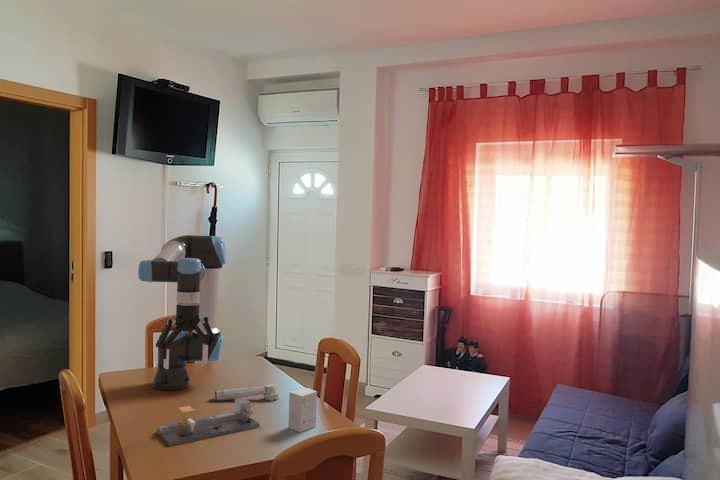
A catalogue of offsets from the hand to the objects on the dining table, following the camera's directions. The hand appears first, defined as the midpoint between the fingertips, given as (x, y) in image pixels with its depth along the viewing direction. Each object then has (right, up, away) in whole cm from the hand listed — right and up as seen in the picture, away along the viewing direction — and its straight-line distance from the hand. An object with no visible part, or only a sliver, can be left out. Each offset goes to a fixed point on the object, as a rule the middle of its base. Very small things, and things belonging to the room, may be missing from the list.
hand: (185, 365), depth 190 cm
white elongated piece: (+14, -22, +35) cm, 44 cm away
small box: (+39, -24, +9) cm, 47 cm away
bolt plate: (+7, -23, +3) cm, 24 cm away
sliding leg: (+1, -21, 0) cm, 21 cm away
